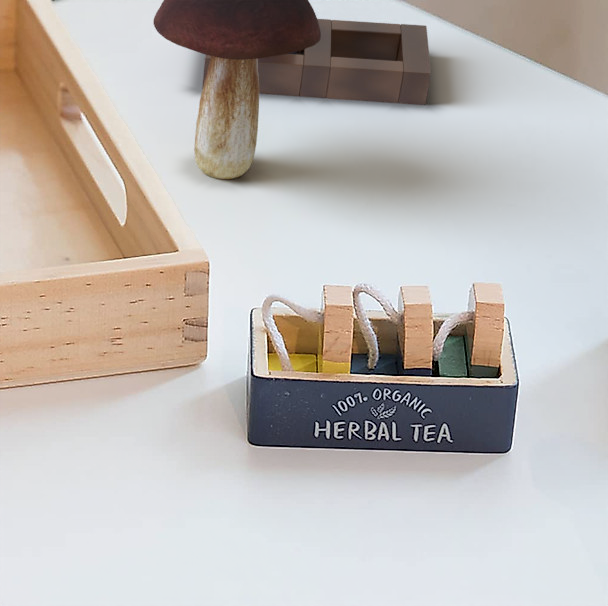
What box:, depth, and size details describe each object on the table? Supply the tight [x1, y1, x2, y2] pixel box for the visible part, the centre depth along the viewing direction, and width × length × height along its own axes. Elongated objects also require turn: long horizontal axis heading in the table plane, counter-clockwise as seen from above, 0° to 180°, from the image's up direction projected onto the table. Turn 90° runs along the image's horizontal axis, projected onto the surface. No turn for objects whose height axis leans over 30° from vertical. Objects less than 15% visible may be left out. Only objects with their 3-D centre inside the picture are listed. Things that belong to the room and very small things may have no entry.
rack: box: [201, 18, 432, 106], centre depth 119 cm, size 17×9×3 cm, turn 80°
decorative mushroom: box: [153, 0, 321, 180], centre depth 102 cm, size 11×11×15 cm
